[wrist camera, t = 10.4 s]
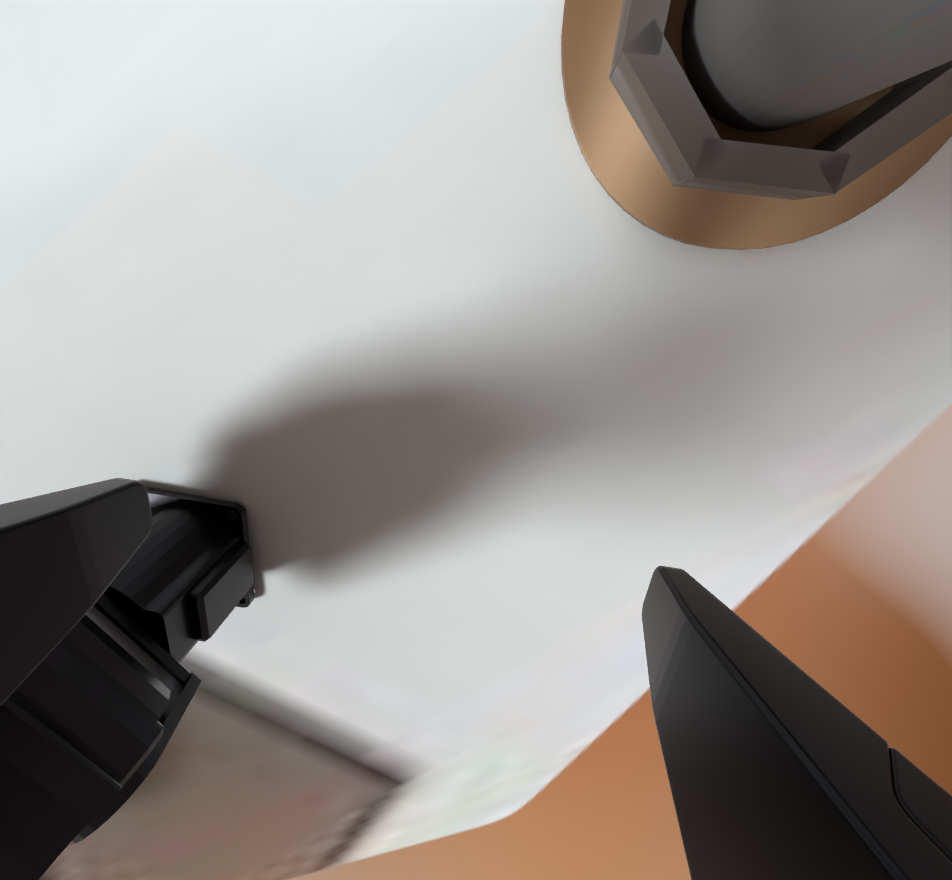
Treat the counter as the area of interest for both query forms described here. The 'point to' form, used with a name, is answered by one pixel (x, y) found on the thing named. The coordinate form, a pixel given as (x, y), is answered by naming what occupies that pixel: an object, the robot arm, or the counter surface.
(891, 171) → the ring coaster
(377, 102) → the counter surface
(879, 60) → the bottle
